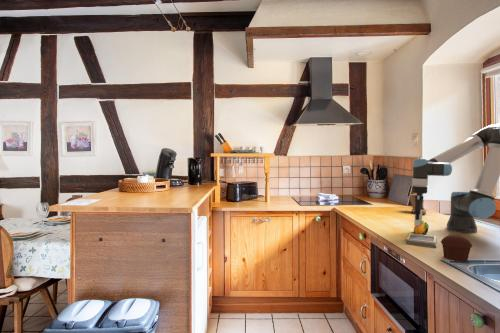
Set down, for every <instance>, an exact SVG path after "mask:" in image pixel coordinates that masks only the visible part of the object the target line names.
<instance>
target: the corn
mask: <svg viewBox="0 0 500 333" xmlns="http://www.w3.org/2000/svg"><path fill="white" fill-rule="evenodd" d="M429 228H430V227H429V224H428V222H426V221H425V222H424V220H422V221H421V220H420V226H417V225H414V227H413V234H420V235H427V234H428V232H429Z"/></svg>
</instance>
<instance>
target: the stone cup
mask: <svg viewBox="0 0 500 333" xmlns="http://www.w3.org/2000/svg"><path fill="white" fill-rule="evenodd" d="M416 195H417V193H411V194H409V195H408V197H409V201H410V204H411V206H412V208H411V212H412V213H413V212H415V196H416ZM423 205H424V203H423V204H422V206H423ZM425 214H427V210H426V209H425V208H424V210H422V215H425Z"/></svg>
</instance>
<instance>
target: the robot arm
mask: <svg viewBox="0 0 500 333" xmlns="http://www.w3.org/2000/svg"><path fill="white" fill-rule="evenodd" d="M485 147H489V149H488V152H487V155H486V156H485V157H486V158H485V160H484V162H483V165H482V167H481V170H480V173H479V176H478V178H477V180H476V183H475V185H474V188H472V189H470V190H469V191H452V192H451V194H450V215H449V216H450V217H449V218H448V220H447V223H446V228H447V229H446V230H450V231H455V232H458V233H476V232H478V226H477V224H476V220H475V218H476V219H487V218H490V217H492V216H494V214H495V212H496V209H497V205H496V202H495V199H496V198H495V195H494V191H495V189H496V186H497V185H498V184H497V183H498V181H499V179H500V123H496V124H490V125H487V126H485V127H484V128H481V129H479V130H478V131H476V132H475V133H473V134H470V136H469V137H468V138H467V139H465V140H464V141H462V142H459V143H457V144H456V145H455V146H452V147H451V148H449V149H447V150H445V151H444V152H441V153H440V154H438V155H436V156H434V157H432V158H430V159H428V158H414V159H413V163H412V179H411V180H410V181H411V182H412V188H411V192H412V194H417V195H416V196H415V212H412V213H413V215H414V226H415V225H417V226H420V220H421V221H423V214H422V210H424V209H425V208H424V207H423V206H422V204H423V205H424V194H427V193H428V183H429V181H428V180H429V177H430V176H432V177H433V176H437V177H446V176H447V177H448V176H450V175H451V174H452V173H453V166H452V164H451V163H454V162H455V161H457V160H459V159H461V158H463V157H464V156H467V155H469V154H470V153H473V152H475V151H476V150H478V149H479V150H480V149H484V148H485Z"/></svg>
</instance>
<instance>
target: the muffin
mask: <svg viewBox="0 0 500 333" xmlns="http://www.w3.org/2000/svg"><path fill="white" fill-rule="evenodd" d="M440 243H441V244H442V245H441V246H442V251H443V258H445V259H446V260H448V261H452V260H454V261H453V262H457V261H460V262H459V263H464V262H468V261H469V256H470V253H471V248H472V247H473V244H472V242H471V241H470V240H469V239H467V238H466V237H465V236H463V235H462V236H461V235H457V234H449V235H446V236H444V237H443V238H442V239H441V241H440Z"/></svg>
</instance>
